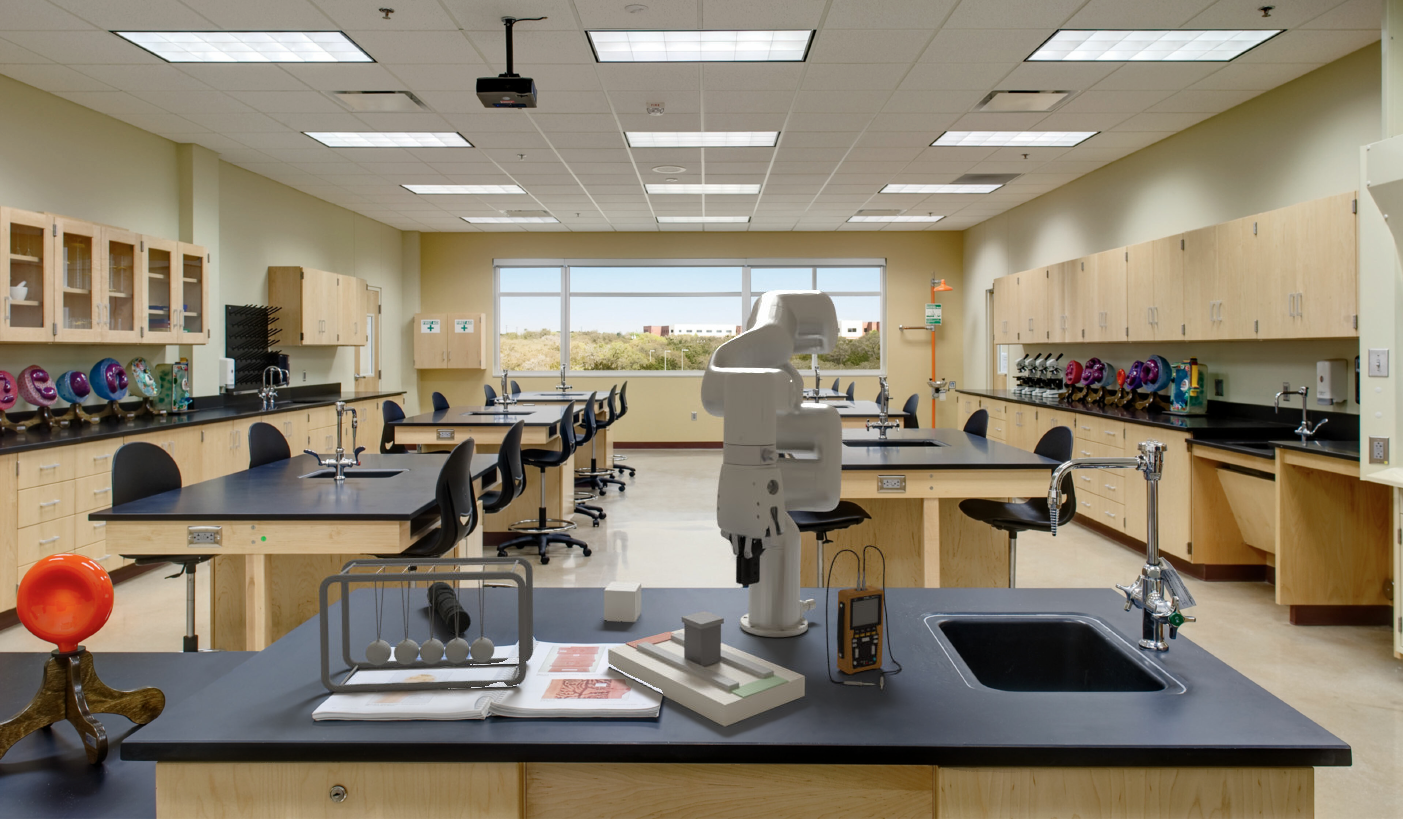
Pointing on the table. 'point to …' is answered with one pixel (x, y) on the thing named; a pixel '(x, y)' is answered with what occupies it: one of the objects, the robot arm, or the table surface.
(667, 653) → the slider rail board
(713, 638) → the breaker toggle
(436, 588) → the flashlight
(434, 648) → the newton's cradle
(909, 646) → the table surface
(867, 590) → the multimeter
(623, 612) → the white cube
